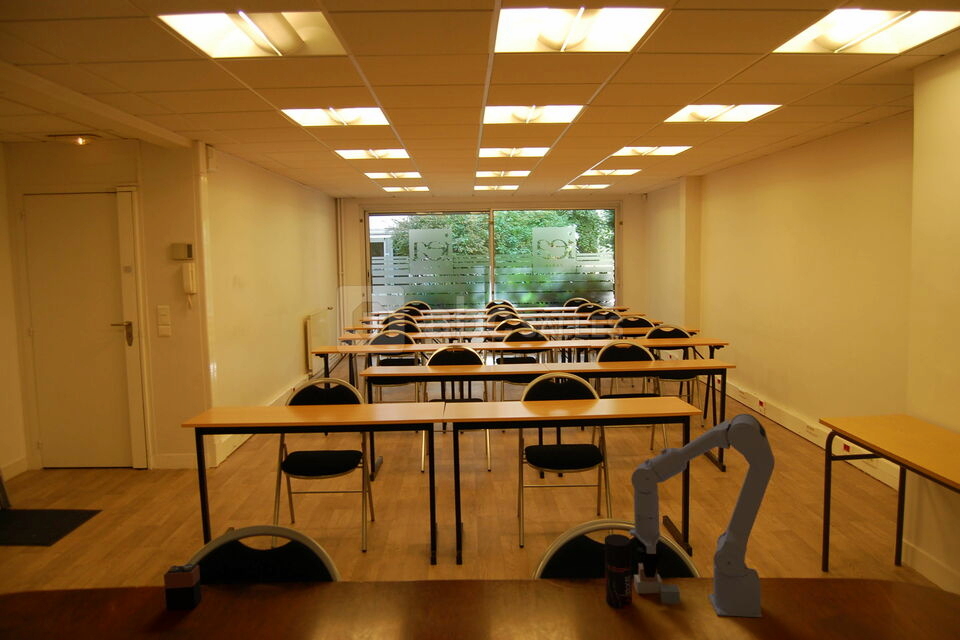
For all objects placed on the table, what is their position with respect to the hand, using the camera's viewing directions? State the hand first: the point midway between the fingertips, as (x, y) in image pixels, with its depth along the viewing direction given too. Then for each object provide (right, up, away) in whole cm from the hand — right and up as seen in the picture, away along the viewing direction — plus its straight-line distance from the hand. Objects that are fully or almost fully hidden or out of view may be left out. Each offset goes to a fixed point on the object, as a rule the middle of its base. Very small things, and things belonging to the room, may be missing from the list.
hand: (647, 568), depth 138 cm
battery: (-113, -10, +2) cm, 114 cm away
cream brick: (0, -5, 0) cm, 6 cm away
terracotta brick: (0, -3, 0) cm, 3 cm away
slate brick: (+4, -6, -4) cm, 8 cm away
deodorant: (-8, -6, -4) cm, 11 cm away
